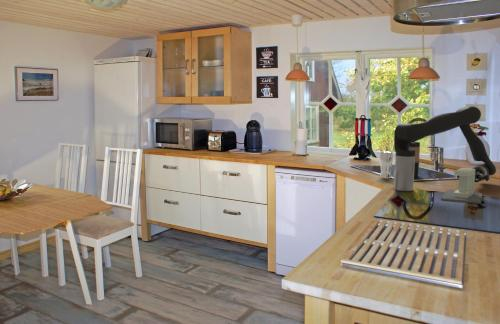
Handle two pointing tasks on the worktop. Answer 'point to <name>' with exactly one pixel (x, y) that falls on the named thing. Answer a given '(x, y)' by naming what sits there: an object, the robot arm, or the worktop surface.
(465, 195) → the tall sage green block
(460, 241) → the worktop surface
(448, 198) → the mat
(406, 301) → the worktop surface
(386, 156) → the beer glass
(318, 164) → the worktop surface
